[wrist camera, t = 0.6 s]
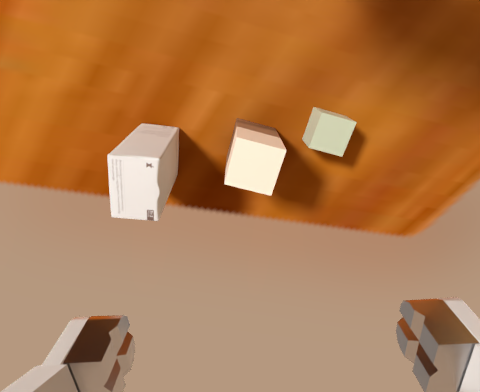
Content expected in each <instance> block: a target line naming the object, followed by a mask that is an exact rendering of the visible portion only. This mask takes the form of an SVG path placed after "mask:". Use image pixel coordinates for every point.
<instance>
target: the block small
mask: <svg viewBox="0 0 480 392" xmlns="http://www.w3.org/2000/svg"><path fill="white" fill-rule="evenodd" d="M356 123H357V122H355V121H354V120H352V119H350V118H348V117H347V116H344V115H341V114H337V113H334V112H330V111H327V110H323V109H320V108H316V107H313V110H312V113H311V116H310V119H309V122H308V124H307V127H306V130H305V133H304V136H303V139H302V140H303V141H304V142H305V143H306V145H307V146H308V147H309V148H311V149H315V150H319V151H323V152H326V153H330V154H334V155H337V156H341V157H342V156H343V154H344V151H345V149H346V147H347V144H348V142H349V139H350V137H351V135H352V132H353V130H354V127H355V125H356Z"/></svg>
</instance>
